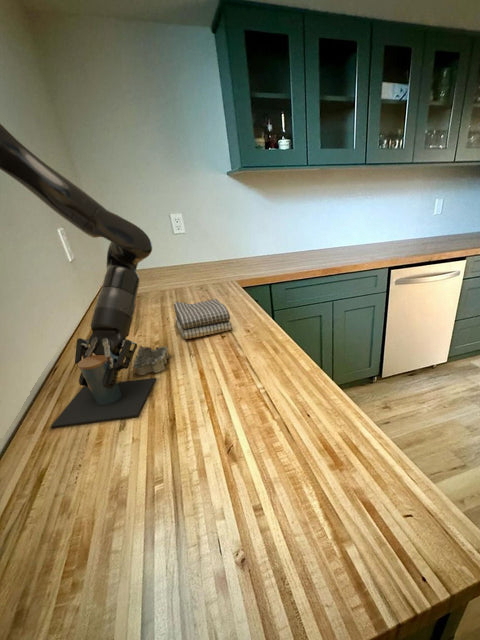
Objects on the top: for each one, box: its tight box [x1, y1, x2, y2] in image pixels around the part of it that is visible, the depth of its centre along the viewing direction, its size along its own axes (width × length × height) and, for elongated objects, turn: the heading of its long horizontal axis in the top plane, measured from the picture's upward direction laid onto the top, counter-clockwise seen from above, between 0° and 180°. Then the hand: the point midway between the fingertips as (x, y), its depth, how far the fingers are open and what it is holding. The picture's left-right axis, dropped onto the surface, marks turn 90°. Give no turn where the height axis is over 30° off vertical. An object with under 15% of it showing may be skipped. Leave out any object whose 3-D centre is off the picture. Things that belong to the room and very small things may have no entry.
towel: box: [173, 298, 232, 340], centre depth 106 cm, size 15×18×8 cm
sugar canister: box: [76, 354, 122, 405], centre depth 72 cm, size 6×6×10 cm
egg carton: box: [132, 345, 170, 376], centre depth 87 cm, size 11×8×4 cm
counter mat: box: [50, 377, 157, 429], centre depth 74 cm, size 17×15×1 cm
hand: (96, 386), depth 71 cm, fingers closed on sugar canister, 5 cm apart
